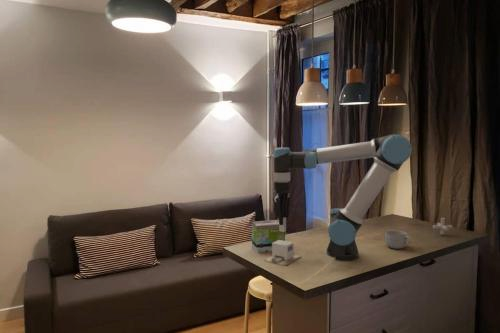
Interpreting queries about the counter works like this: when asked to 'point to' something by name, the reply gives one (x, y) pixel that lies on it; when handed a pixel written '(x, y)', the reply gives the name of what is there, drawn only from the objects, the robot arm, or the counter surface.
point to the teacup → (396, 239)
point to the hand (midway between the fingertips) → (282, 231)
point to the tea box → (265, 235)
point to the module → (282, 249)
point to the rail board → (282, 260)
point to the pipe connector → (442, 226)
